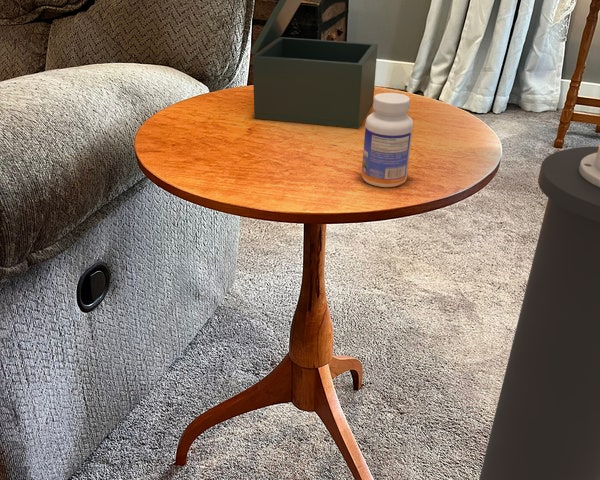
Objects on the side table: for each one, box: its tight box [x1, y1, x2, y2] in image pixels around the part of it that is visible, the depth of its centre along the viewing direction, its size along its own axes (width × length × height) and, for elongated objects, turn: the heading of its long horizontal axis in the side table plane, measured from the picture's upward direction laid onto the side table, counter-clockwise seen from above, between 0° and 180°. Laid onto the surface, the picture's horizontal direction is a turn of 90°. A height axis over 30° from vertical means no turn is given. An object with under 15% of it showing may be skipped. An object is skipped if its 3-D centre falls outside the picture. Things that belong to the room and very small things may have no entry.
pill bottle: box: [361, 92, 414, 188], centre depth 74 cm, size 5×5×10 cm
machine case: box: [252, 36, 379, 129], centre depth 97 cm, size 16×14×9 cm
